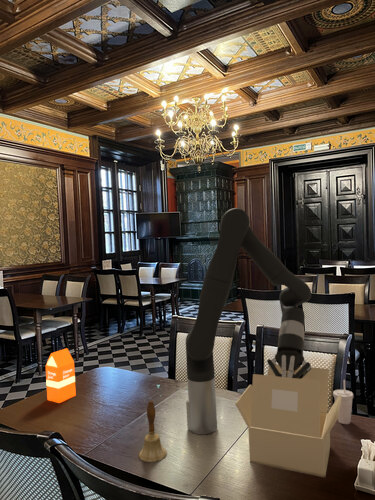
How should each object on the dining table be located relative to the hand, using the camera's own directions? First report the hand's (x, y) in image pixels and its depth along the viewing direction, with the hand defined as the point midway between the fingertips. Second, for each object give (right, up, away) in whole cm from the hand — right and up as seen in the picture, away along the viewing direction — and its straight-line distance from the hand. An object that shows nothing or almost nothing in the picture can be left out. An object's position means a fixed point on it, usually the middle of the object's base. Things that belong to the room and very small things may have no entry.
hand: (286, 393), depth 106 cm
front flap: (-1, -2, -1) cm, 3 cm away
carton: (+5, -19, +9) cm, 21 cm away
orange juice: (-81, -23, +55) cm, 100 cm away
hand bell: (-38, -21, +7) cm, 44 cm away
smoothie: (+25, -18, +22) cm, 38 cm away
